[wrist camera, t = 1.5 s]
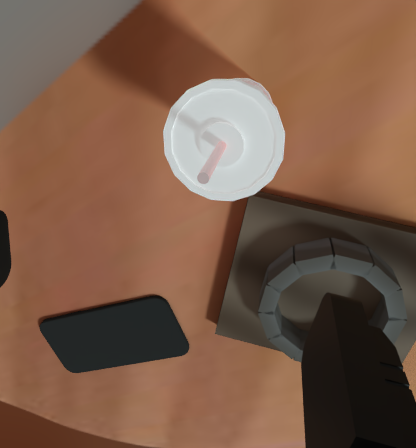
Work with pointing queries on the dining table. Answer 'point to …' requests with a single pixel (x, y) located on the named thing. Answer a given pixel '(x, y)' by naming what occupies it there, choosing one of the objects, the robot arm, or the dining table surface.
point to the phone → (116, 335)
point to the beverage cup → (224, 138)
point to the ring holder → (316, 273)
